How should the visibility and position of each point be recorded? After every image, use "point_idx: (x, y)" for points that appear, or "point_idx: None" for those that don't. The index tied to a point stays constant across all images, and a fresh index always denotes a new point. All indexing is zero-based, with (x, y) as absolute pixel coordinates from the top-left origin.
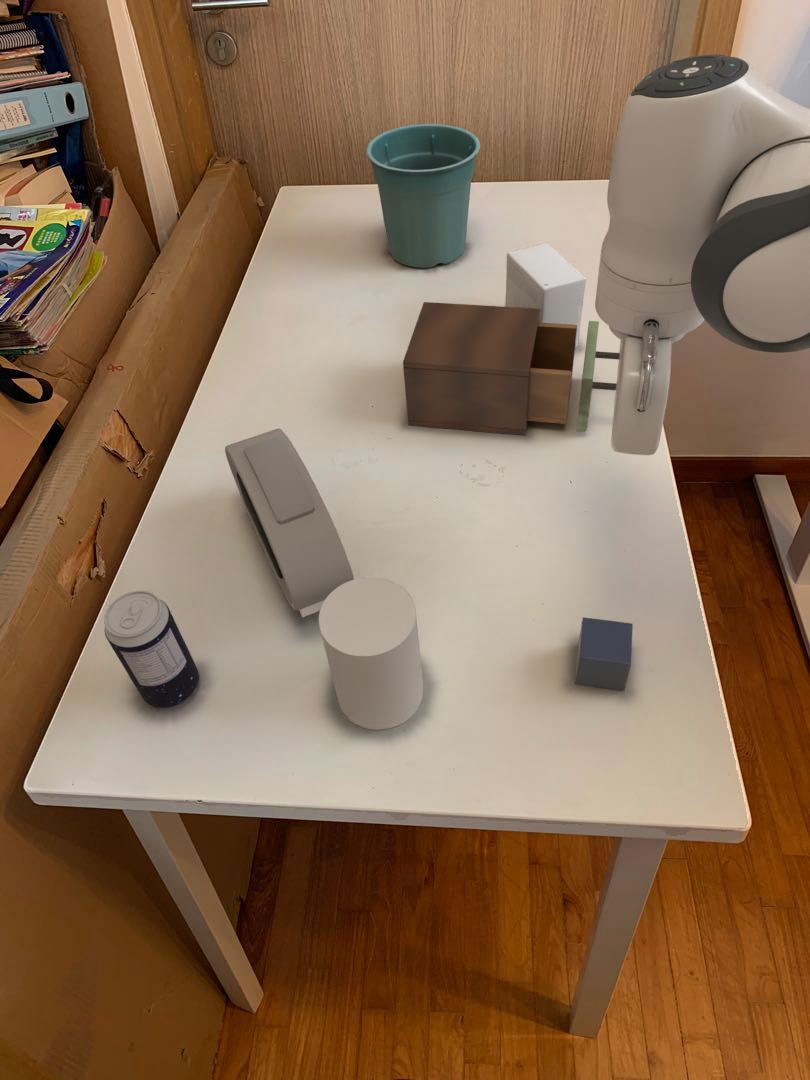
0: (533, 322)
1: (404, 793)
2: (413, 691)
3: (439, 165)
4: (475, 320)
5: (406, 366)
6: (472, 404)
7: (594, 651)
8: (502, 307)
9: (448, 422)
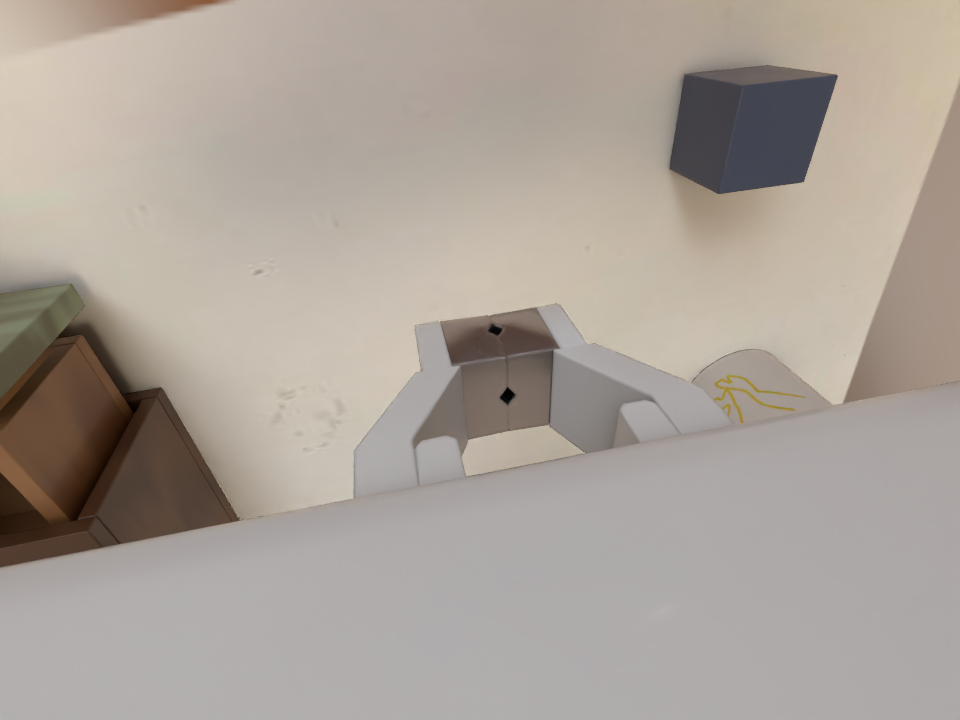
0: None
1: (859, 325)
2: (796, 379)
3: None
4: None
5: None
6: (189, 518)
7: (796, 156)
8: None
9: (221, 506)
